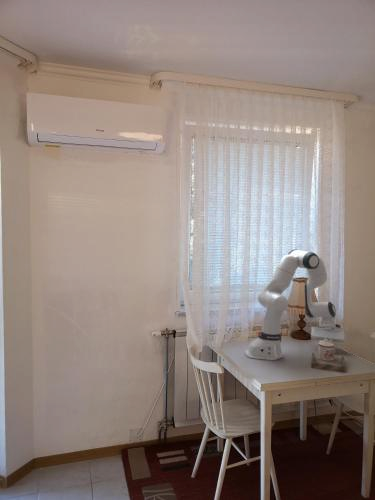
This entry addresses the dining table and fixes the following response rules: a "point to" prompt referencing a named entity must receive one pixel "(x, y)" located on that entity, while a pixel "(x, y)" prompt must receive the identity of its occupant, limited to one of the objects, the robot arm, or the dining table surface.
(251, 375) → the dining table surface
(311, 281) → the robot arm
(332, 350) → the teacup with lid
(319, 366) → the walnut tea frame
